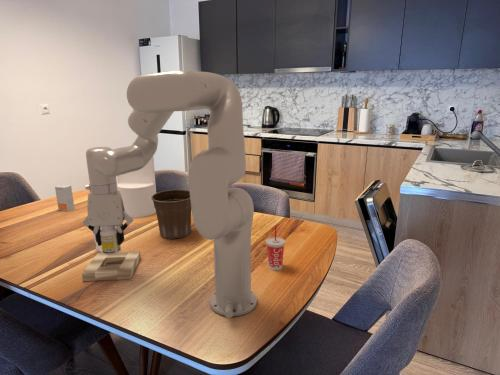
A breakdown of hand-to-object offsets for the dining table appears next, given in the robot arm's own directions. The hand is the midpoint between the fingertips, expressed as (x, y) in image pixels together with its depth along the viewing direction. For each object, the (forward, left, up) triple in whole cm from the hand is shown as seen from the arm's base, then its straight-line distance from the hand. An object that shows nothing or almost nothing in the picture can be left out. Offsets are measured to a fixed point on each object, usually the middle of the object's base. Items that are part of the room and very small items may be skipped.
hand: (110, 243), depth 110 cm
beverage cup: (-3, -52, -9) cm, 53 cm away
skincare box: (+63, +41, -9) cm, 76 cm away
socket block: (0, 0, -9) cm, 9 cm away
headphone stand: (+16, +8, -9) cm, 20 cm away
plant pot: (+28, -16, -9) cm, 34 cm away
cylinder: (+57, +5, -9) cm, 58 cm away
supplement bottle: (0, 0, -3) cm, 3 cm away
